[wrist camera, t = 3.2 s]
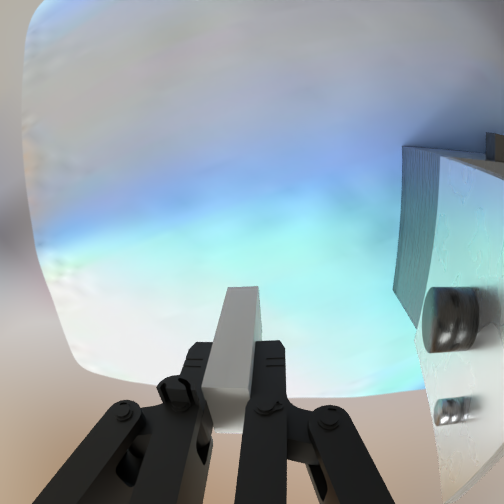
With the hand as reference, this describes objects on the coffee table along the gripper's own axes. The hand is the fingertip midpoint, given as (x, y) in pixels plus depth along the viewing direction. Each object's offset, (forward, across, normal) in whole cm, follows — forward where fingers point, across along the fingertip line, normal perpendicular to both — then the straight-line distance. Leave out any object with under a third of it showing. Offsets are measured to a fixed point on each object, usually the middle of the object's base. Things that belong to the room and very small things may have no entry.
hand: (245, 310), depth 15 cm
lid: (-3, +12, 0) cm, 12 cm away
